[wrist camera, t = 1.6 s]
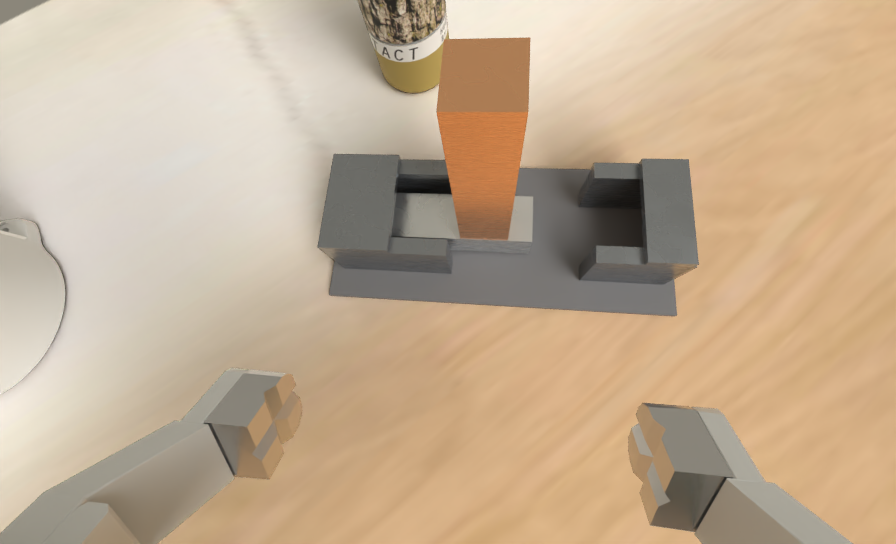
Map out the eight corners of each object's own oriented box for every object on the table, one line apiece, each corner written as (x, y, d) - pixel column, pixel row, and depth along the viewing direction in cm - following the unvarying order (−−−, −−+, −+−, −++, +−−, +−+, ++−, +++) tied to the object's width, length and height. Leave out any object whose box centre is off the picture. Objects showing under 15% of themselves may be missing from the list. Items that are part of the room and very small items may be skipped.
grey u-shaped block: (344, 268, 32) (317, 247, 27) (357, 188, 34) (333, 153, 28) (451, 273, 31) (444, 253, 26) (458, 190, 33) (452, 155, 27)
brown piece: (347, 245, 32) (205, 112, 16) (353, 206, 33) (225, 43, 17) (528, 253, 30) (575, 113, 14) (529, 212, 31) (575, 35, 15)
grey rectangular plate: (331, 295, 32) (329, 294, 31) (351, 167, 35) (350, 165, 34) (674, 316, 29) (676, 315, 28) (663, 173, 32) (665, 170, 31)
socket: (579, 280, 30) (599, 260, 24) (578, 194, 31) (596, 157, 26) (663, 284, 29) (702, 264, 24) (657, 196, 31) (691, 159, 26)
